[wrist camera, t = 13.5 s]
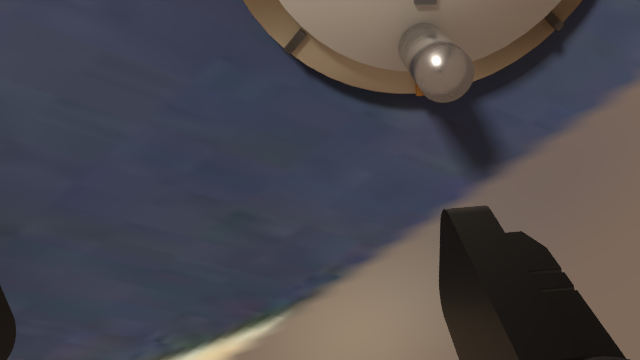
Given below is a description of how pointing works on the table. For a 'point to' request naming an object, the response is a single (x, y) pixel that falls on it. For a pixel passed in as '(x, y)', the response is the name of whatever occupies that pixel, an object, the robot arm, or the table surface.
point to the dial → (420, 34)
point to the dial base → (361, 75)
